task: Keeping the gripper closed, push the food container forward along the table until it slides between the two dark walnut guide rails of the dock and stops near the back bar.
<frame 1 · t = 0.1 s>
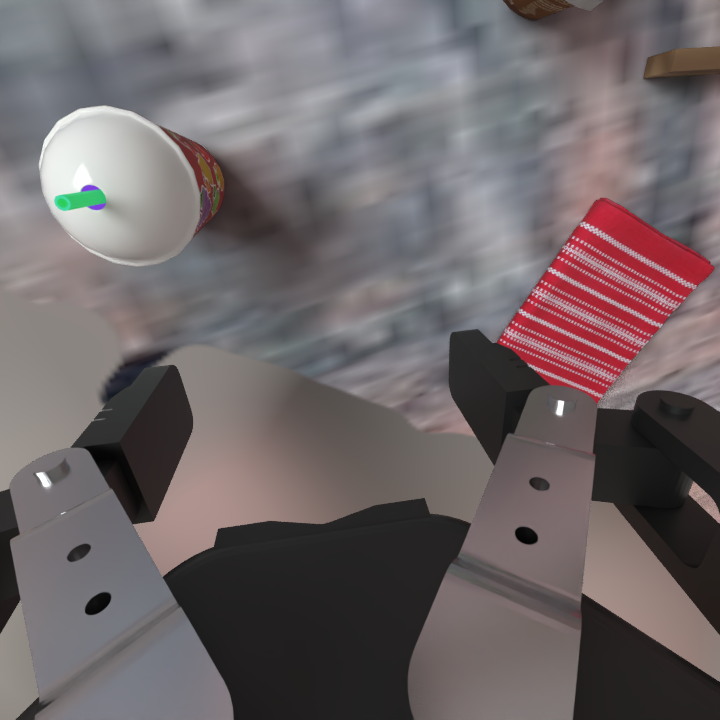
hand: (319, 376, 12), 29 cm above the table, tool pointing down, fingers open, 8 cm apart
dish towel: (579, 322, 47), on the table
smoothie: (187, 181, 35), on the table
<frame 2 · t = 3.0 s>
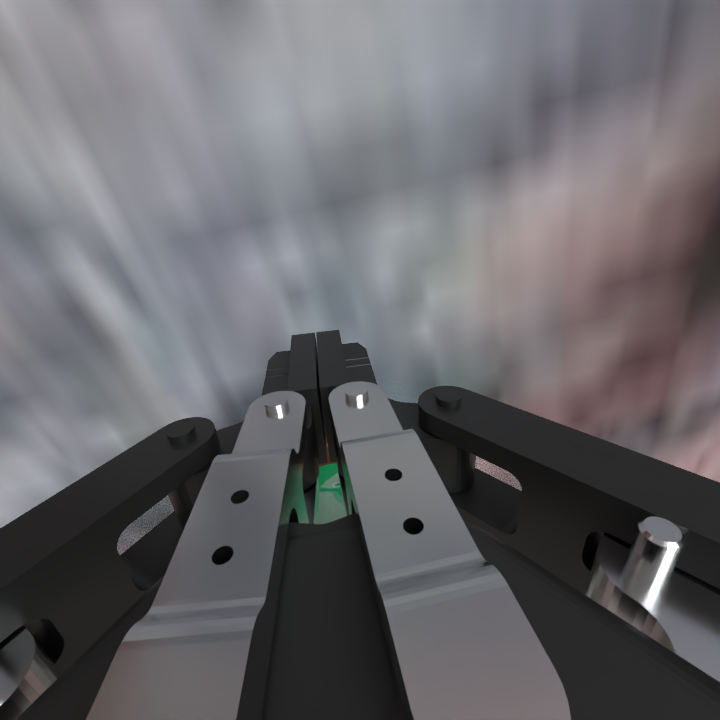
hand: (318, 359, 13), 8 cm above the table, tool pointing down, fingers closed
food container: (348, 449, 25), on the table
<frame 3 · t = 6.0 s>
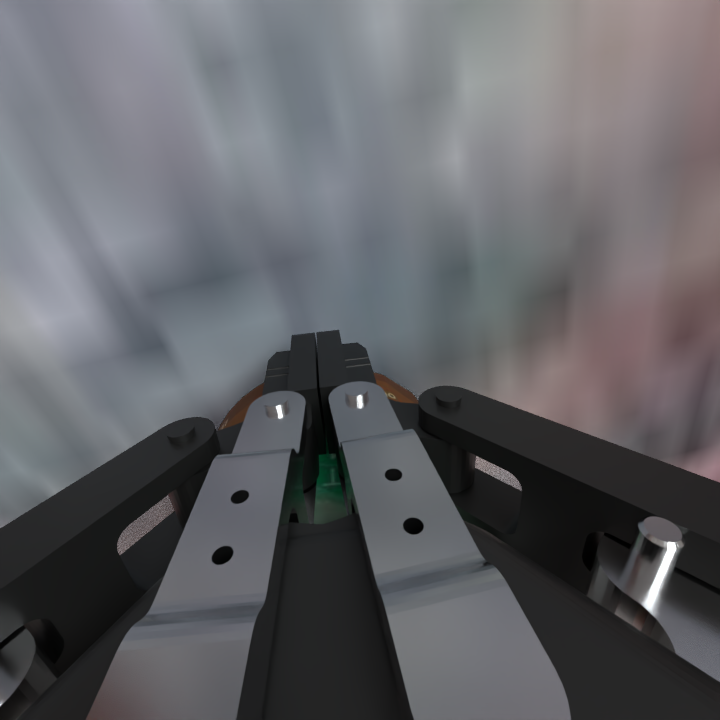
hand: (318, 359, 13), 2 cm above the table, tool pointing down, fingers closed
food container: (331, 404, 15), on the table
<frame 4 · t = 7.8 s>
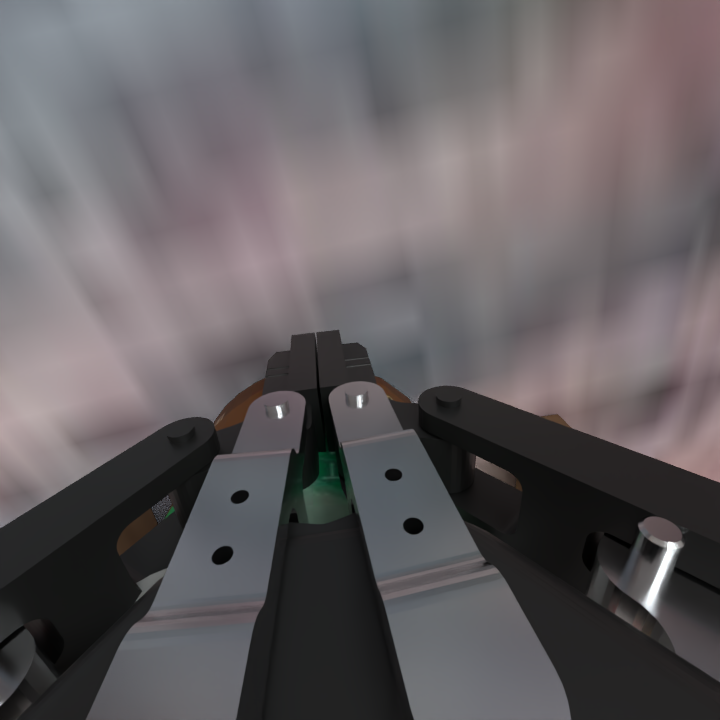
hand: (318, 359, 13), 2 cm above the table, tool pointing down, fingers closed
food container: (327, 405, 16), on the table, touching gripper, hand
walnut dock: (346, 515, 18), on the table
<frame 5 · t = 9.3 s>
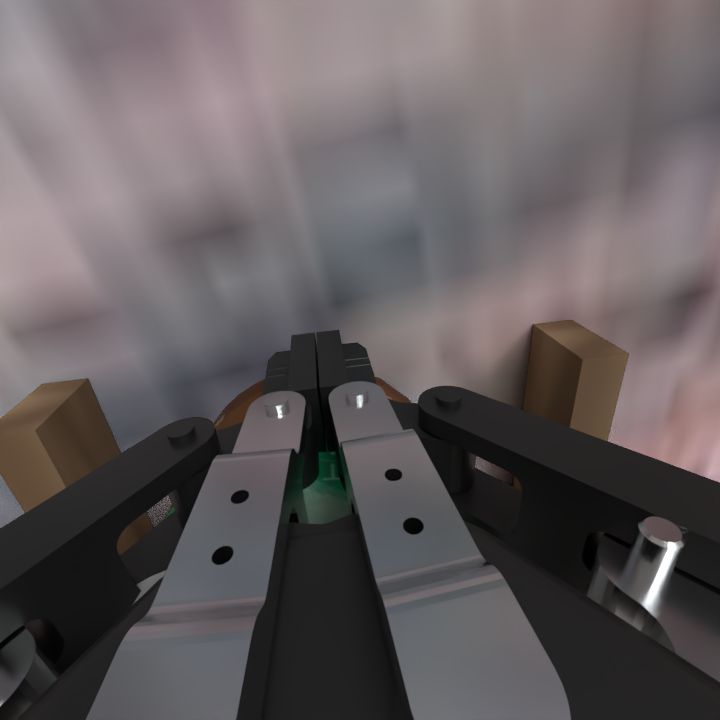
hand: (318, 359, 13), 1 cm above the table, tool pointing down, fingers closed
food container: (327, 406, 16), on the table, touching gripper
walnut dock: (331, 439, 16), on the table
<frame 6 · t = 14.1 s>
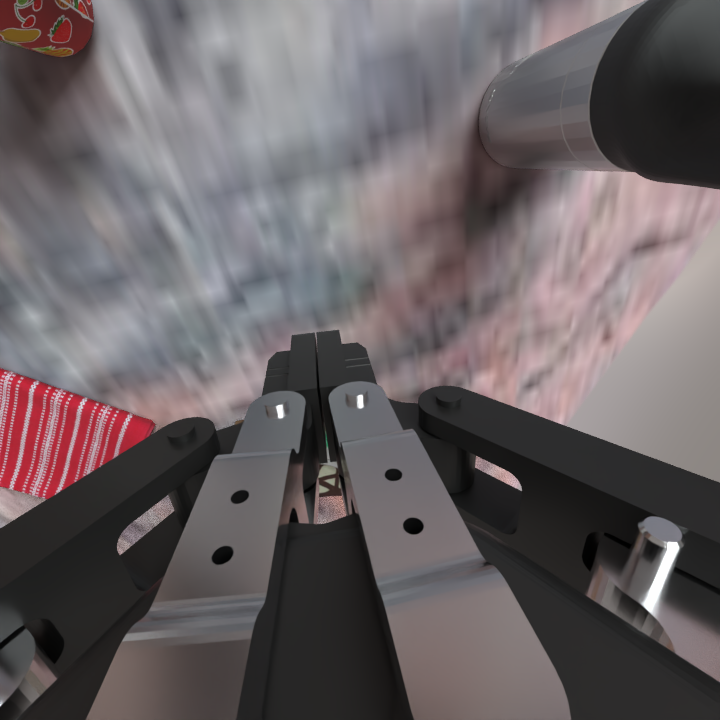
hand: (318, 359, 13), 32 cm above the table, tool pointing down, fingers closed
dish towel: (44, 436, 49), on the table
smoothie: (56, 9, 32), on the table
food container: (313, 426, 53), on the table
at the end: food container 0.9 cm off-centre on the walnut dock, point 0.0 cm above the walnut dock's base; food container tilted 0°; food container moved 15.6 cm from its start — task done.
